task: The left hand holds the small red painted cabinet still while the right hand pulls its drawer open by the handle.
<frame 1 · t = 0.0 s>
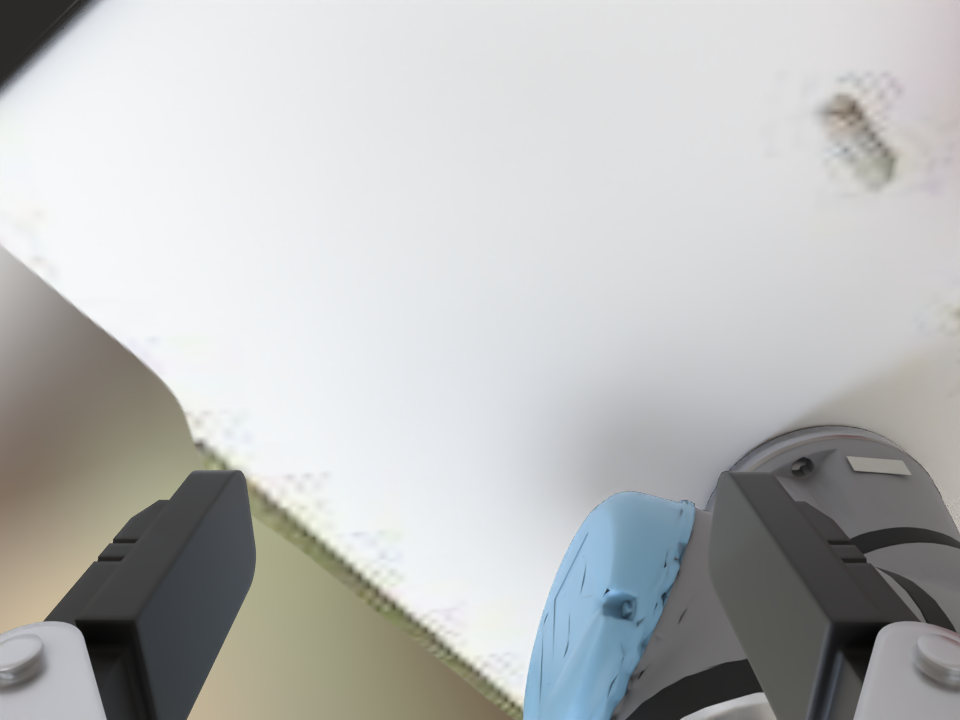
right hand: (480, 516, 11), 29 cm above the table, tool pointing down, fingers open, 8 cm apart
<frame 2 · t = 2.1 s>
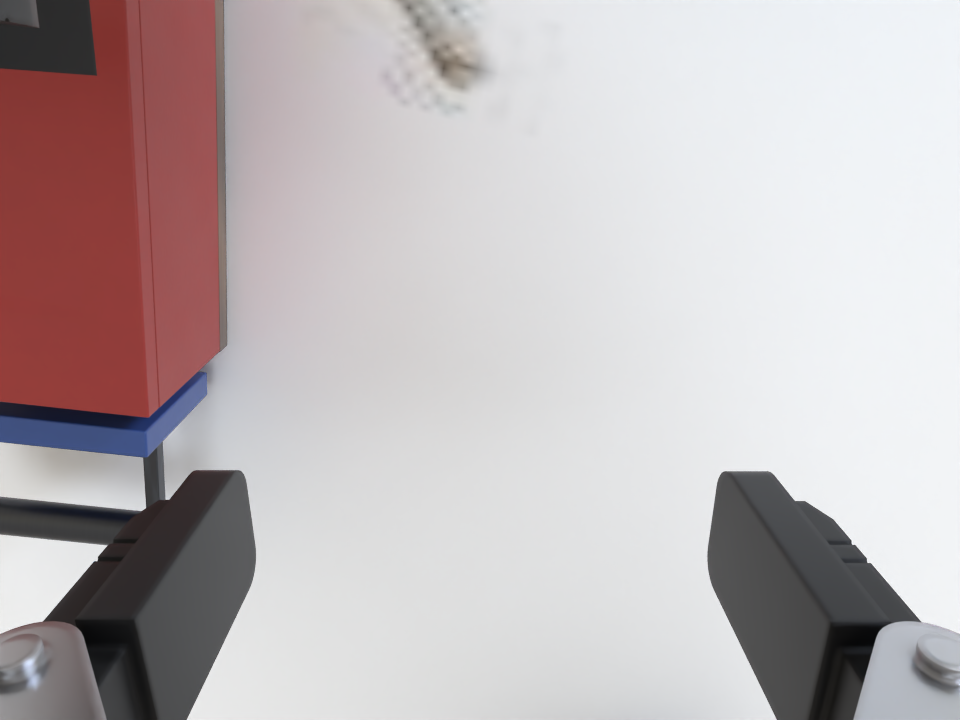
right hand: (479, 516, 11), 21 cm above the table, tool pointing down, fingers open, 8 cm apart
cabinet: (106, 125, 29), on the table
drawer: (64, 276, 27), point 4 cm above the table, slide at 1.1 cm
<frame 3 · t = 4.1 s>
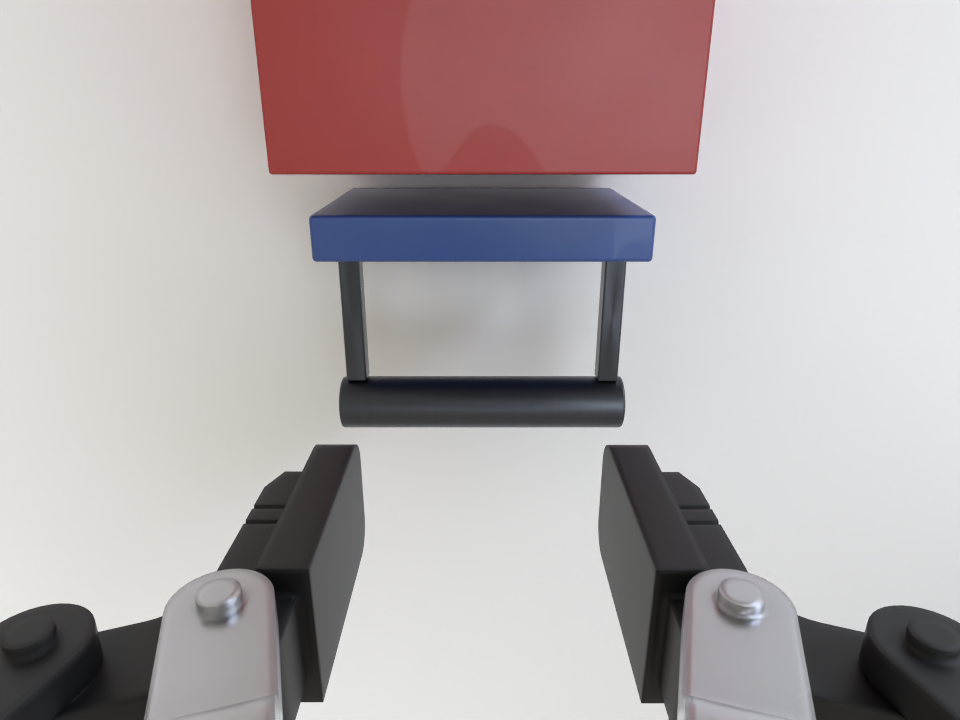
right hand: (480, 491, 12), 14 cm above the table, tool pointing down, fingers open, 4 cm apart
drawer: (482, 16, 18), point 4 cm above the table, slide at 1.1 cm
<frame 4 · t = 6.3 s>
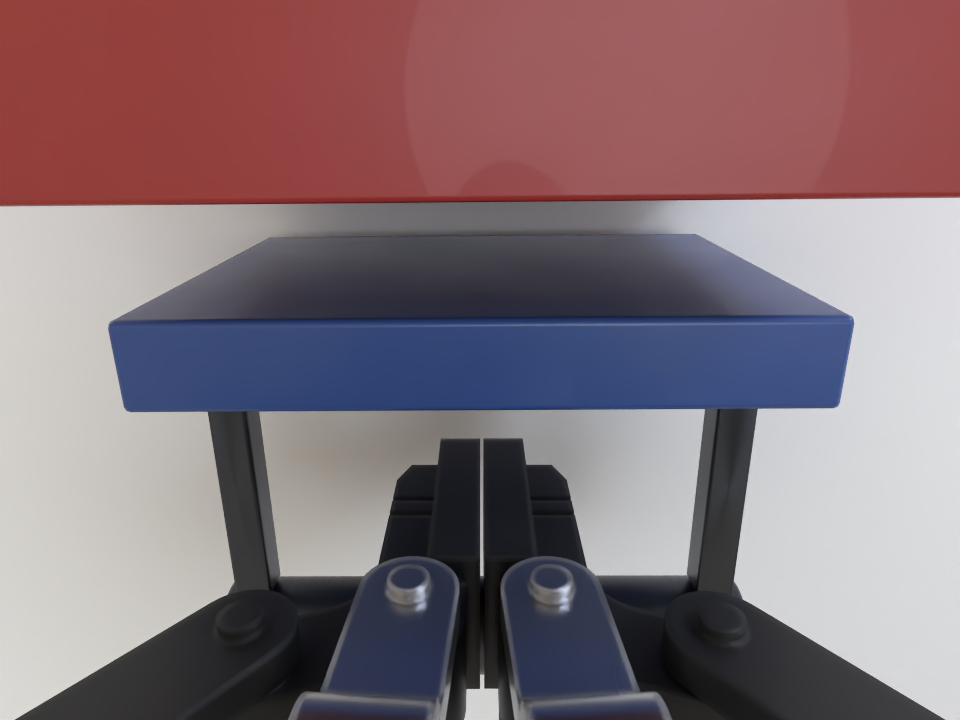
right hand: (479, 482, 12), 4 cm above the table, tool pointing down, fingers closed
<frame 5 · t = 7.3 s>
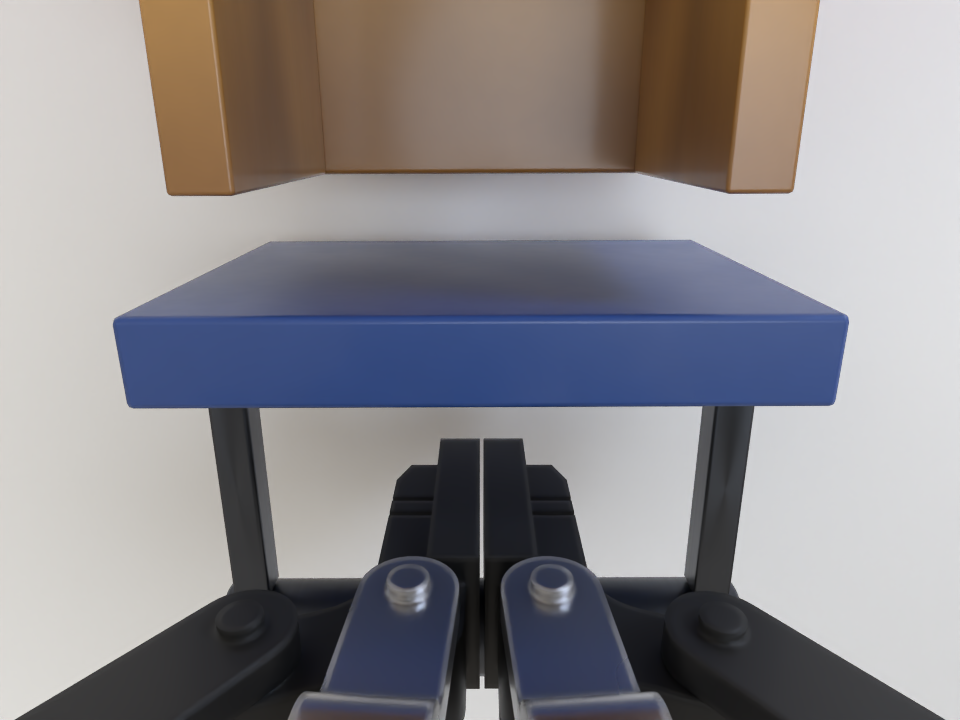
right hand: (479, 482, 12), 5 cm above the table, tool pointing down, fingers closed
when the left hand's fingers open (3 cm above the table, at t = 8.7 s): cabinet stays where it is, on the table.
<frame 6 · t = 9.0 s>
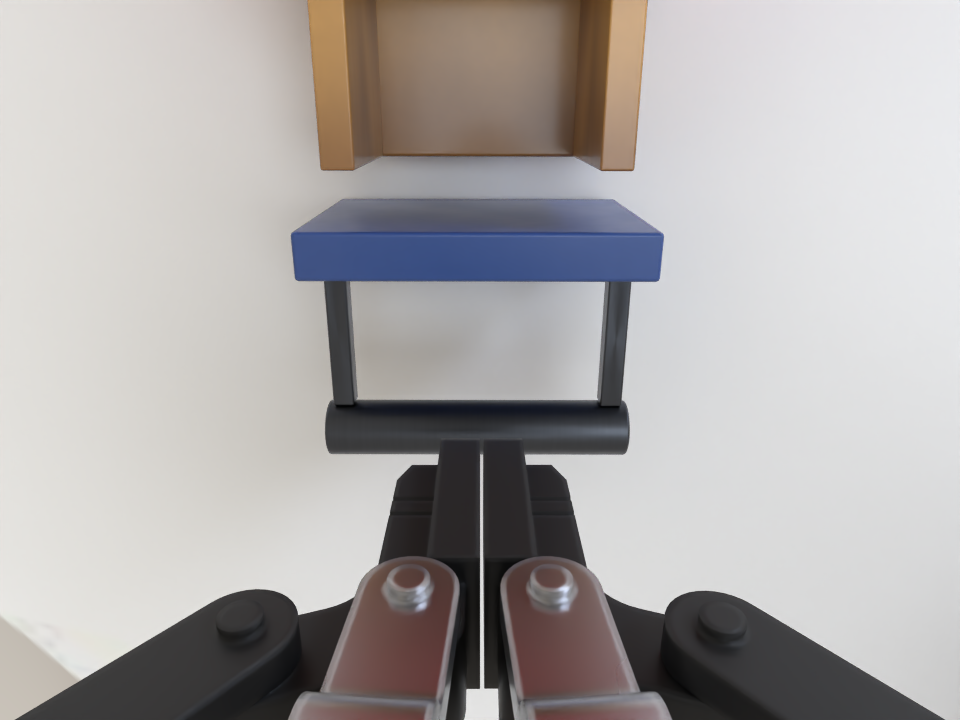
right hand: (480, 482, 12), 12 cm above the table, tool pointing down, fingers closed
drawer: (477, 18, 17), point 4 cm above the table, slide at 6.2 cm
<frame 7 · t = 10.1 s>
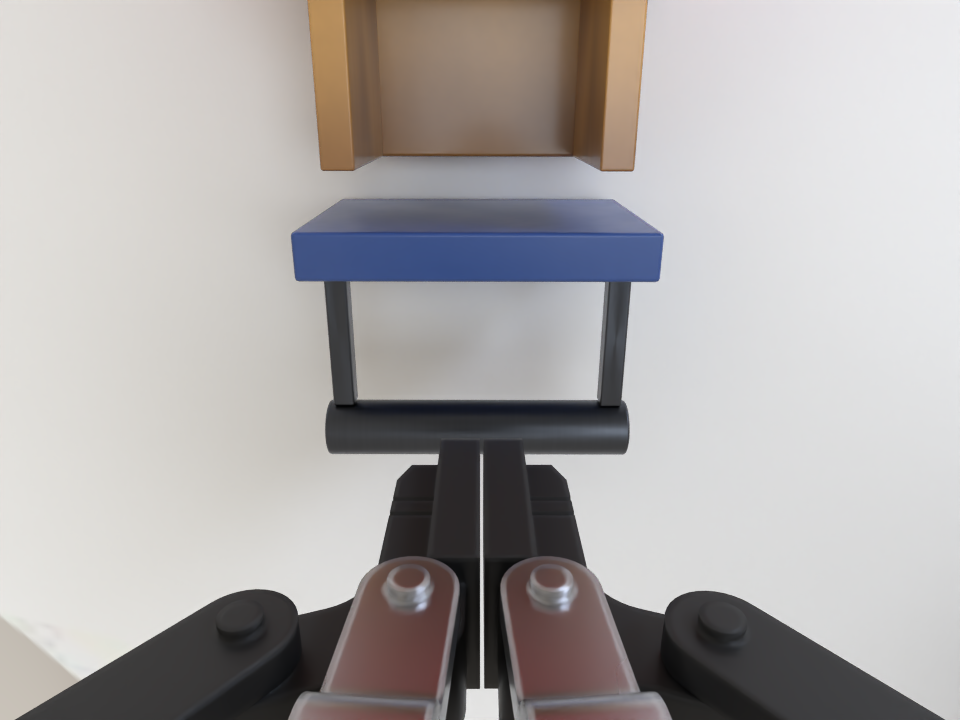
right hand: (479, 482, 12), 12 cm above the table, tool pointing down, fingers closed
drawer: (477, 18, 17), point 4 cm above the table, slide at 6.2 cm
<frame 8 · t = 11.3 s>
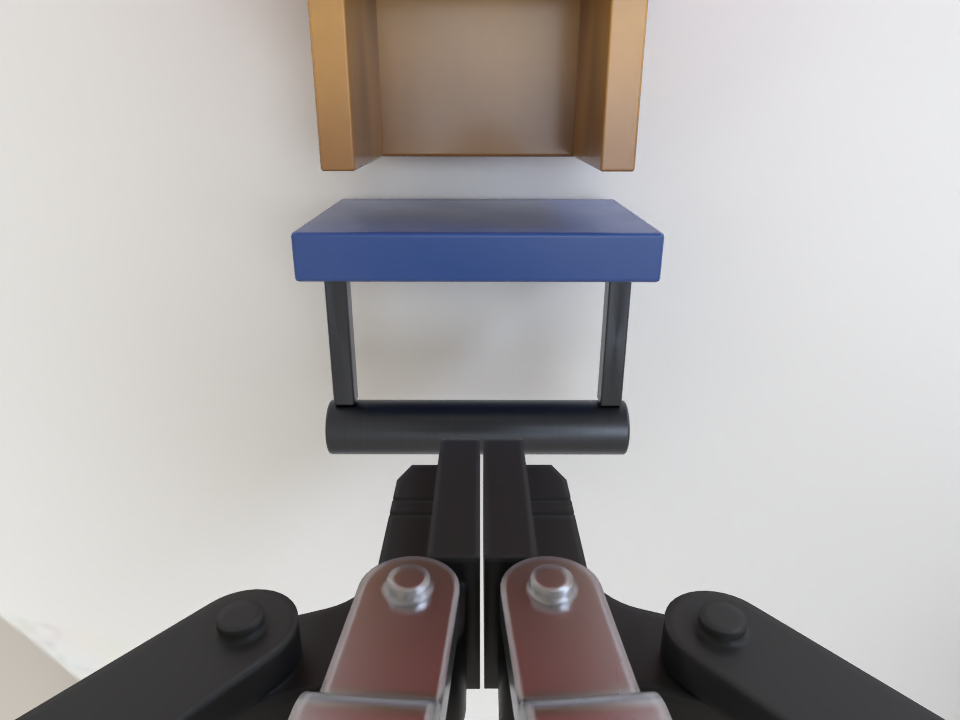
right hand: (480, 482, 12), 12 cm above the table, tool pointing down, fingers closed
drawer: (478, 18, 17), point 4 cm above the table, slide at 6.2 cm
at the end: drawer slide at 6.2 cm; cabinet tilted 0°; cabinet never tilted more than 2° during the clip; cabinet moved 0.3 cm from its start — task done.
